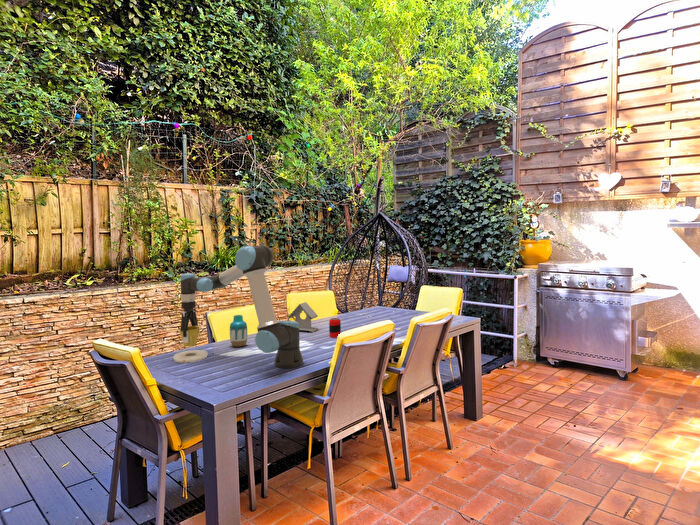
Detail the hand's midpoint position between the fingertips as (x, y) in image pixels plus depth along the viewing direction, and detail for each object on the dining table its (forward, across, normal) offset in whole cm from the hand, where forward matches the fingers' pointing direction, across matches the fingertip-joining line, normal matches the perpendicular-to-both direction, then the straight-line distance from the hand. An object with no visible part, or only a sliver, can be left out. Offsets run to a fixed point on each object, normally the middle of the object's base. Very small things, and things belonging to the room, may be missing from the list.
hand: (189, 340), depth 242 cm
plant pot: (+3, 0, 0) cm, 3 cm away
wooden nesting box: (+10, -66, +54) cm, 86 cm away
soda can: (+10, -48, +78) cm, 92 cm away
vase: (+10, -25, +20) cm, 34 cm away
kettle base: (+10, 0, 0) cm, 10 cm away
